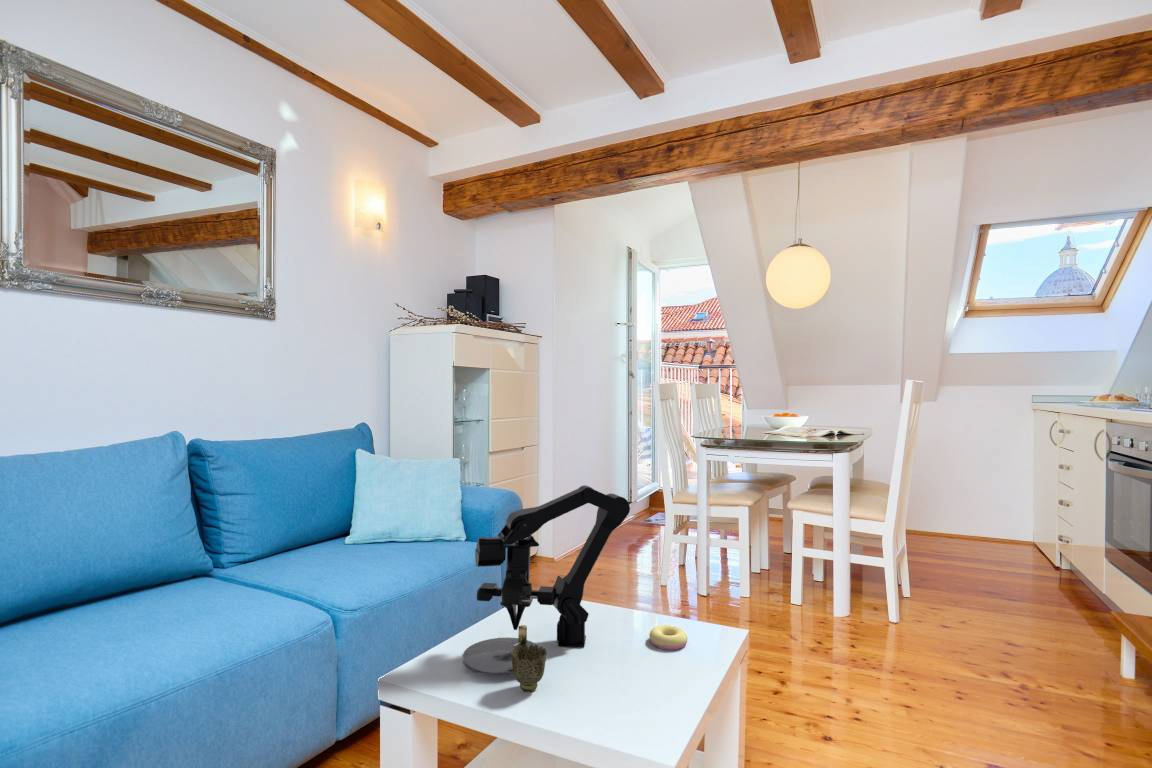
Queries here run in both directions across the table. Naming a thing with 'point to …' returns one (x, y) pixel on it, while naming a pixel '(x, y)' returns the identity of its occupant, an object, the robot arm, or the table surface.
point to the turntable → (495, 654)
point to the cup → (528, 666)
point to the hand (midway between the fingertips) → (515, 629)
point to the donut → (668, 637)
